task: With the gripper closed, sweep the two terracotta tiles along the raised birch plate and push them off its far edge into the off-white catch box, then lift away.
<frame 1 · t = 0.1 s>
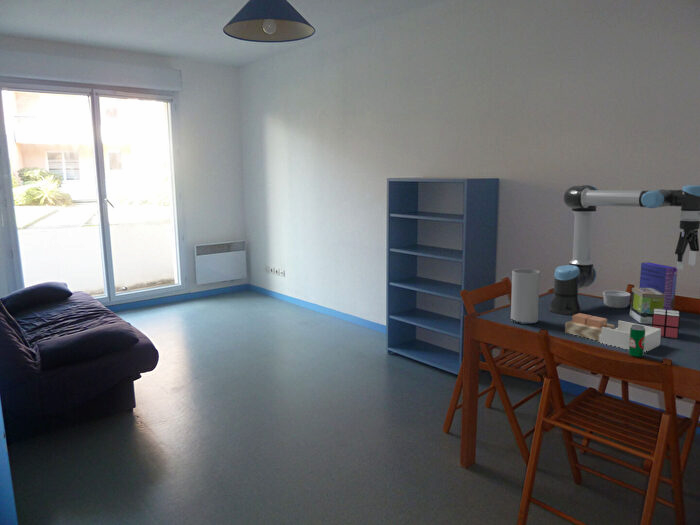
hand: (685, 267, 228), 28 cm above the table, tool pointing down, fingers open, 13 cm apart
soda can: (635, 356, 197), on the table
tea box: (645, 320, 245), on the table
ramekin: (615, 306, 272), on the table
front tile: (596, 325, 221), point 5 cm above the table, touching birch plate
cylinder vase: (524, 321, 247), on the table
birch plate: (589, 334, 224), on the table
puzzle cube: (664, 334, 223), on the table
catch box: (629, 343, 211), on the table
cereal box: (655, 311, 260), on the table
rear tile: (582, 322, 226), point 5 cm above the table, touching birch plate
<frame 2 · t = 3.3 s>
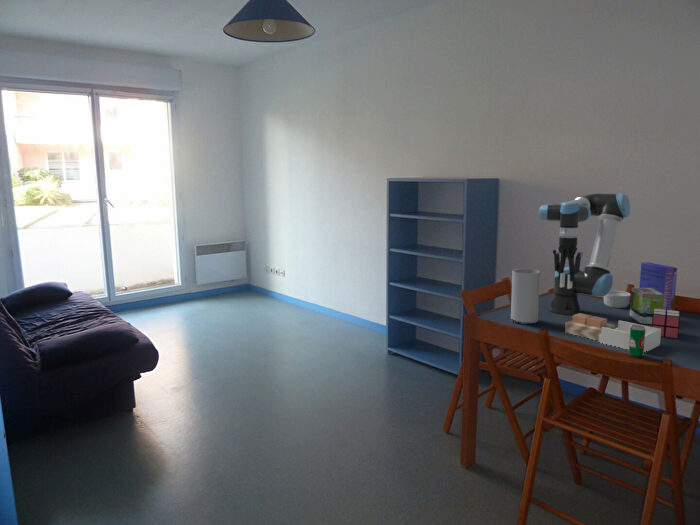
hand: (565, 287, 230), 20 cm above the table, tool pointing down, fingers open, 3 cm apart
nothing on the table moved.
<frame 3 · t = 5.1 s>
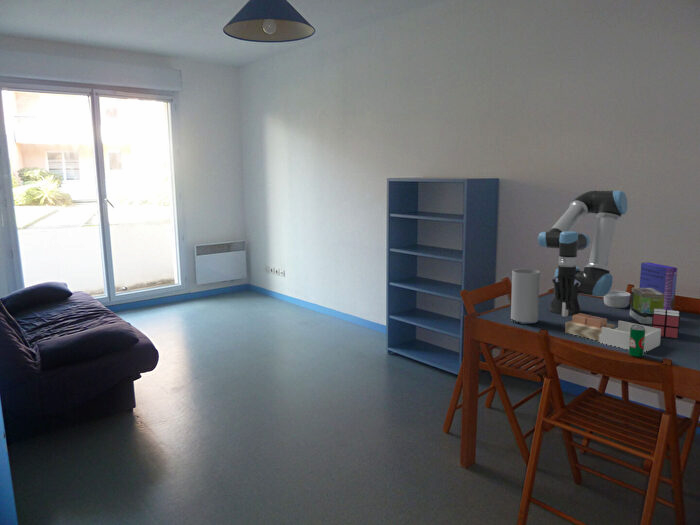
hand: (564, 315, 232), 6 cm above the table, tool pointing down, fingers closed
nothing on the table moved.
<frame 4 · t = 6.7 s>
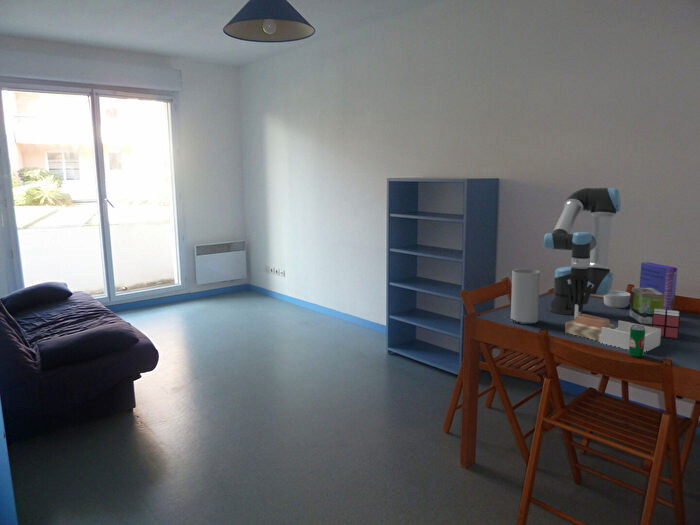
hand: (577, 318, 228), 6 cm above the table, tool pointing down, fingers closed
front tile: (598, 325, 220), point 5 cm above the table, touching rear tile
rear tile: (585, 322, 225), point 5 cm above the table, touching front tile, gripper
everything else where it was.
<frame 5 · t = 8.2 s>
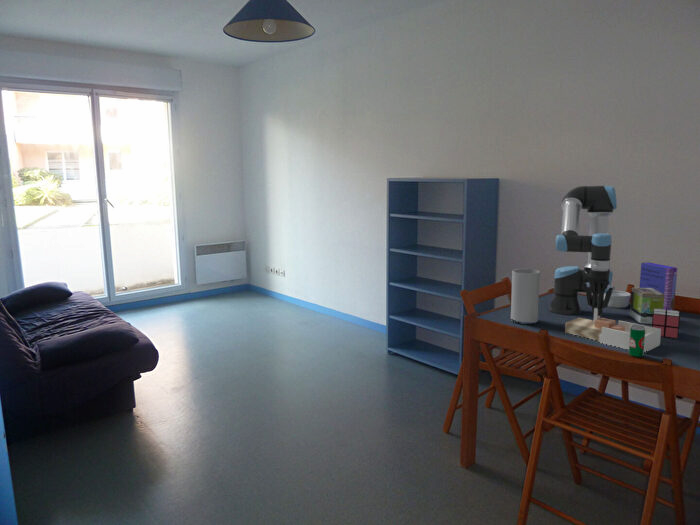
hand: (596, 322, 221), 6 cm above the table, tool pointing down, fingers closed
front tile: (613, 332, 215), point 4 cm above the table, tilted 90°, touching catch box
rear tile: (604, 327, 218), point 5 cm above the table, touching gripper
everything else where it was.
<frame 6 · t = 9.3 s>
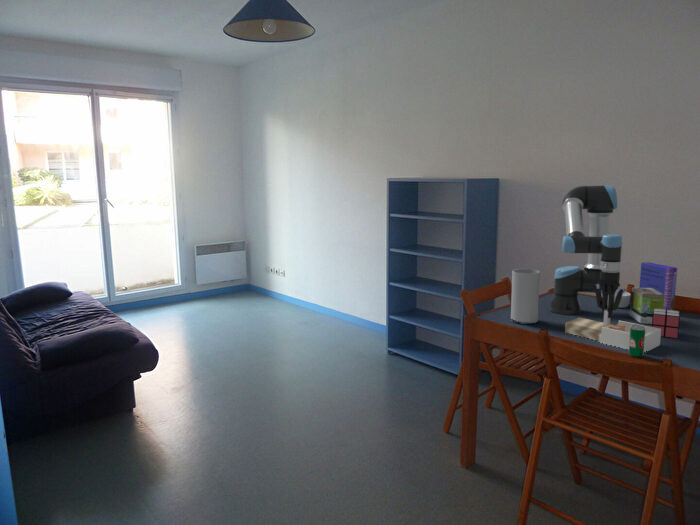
hand: (606, 324, 217), 6 cm above the table, tool pointing down, fingers closed
front tile: (628, 335, 210), point 4 cm above the table, tilted 180°, touching catch box
rear tile: (614, 332, 215), point 4 cm above the table, tilted 91°, touching catch box
everything else where it was.
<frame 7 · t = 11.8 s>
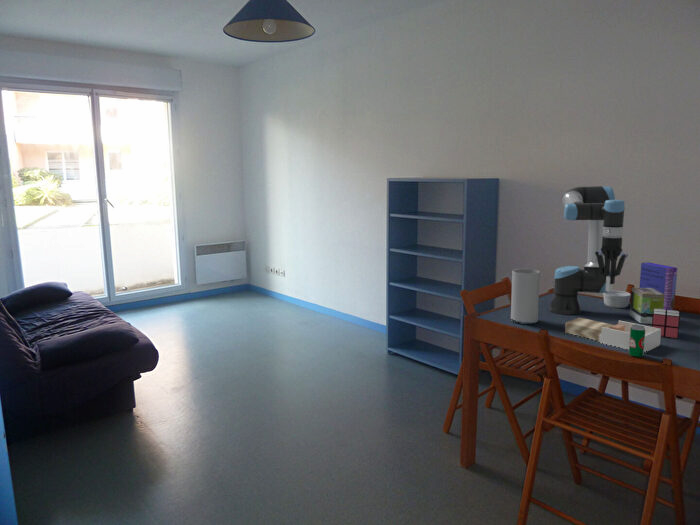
hand: (608, 290, 217), 21 cm above the table, tool pointing down, fingers closed
nothing on the table moved.
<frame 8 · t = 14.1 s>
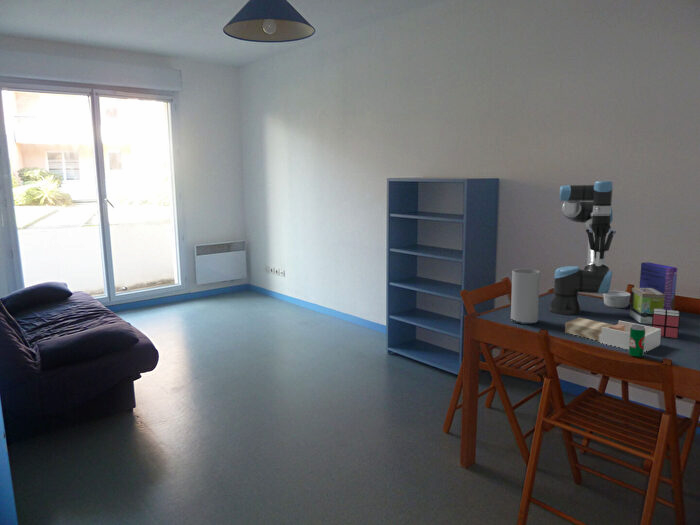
hand: (598, 265, 234), 28 cm above the table, tool pointing down, fingers closed
nothing on the table moved.
at the end: rear tile inside the target area on the catch box (6.5 cm from its centre), point 3.6 cm above the catch box's base; front tile inside the target area on the catch box (0.4 cm from its centre), point 3.6 cm above the catch box's base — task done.
